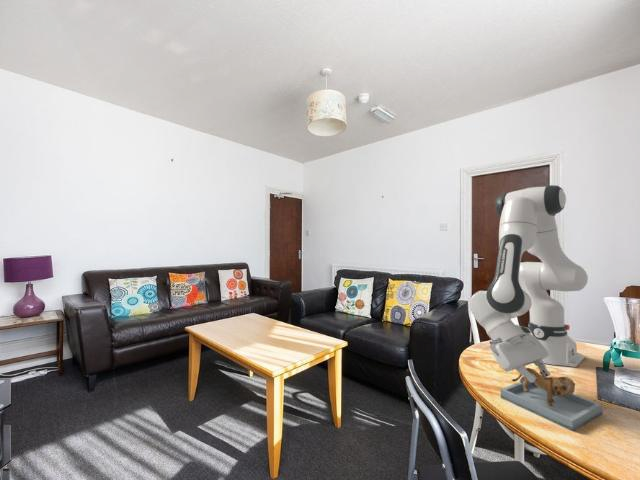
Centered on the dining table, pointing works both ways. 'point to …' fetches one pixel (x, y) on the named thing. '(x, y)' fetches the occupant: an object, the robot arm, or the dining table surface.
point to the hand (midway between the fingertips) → (541, 378)
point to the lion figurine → (550, 385)
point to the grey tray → (562, 412)
